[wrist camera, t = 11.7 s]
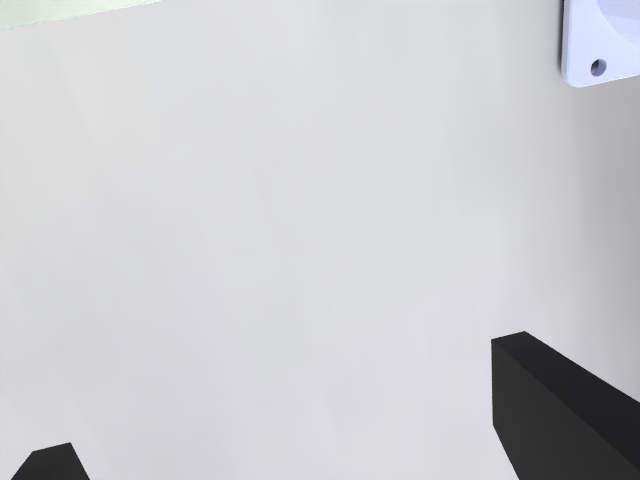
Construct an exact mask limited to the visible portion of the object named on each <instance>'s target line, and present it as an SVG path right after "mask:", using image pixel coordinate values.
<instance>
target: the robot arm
mask: <svg viewBox="0 0 640 480" xmlns="http://www.w3.org/2000/svg"><path fill="white" fill-rule="evenodd" d="M597 59H598V61H599V65H598V68H597V70H596V71H595V72H594V73H592V74H591V71H590V69H591V65H592V64H593V62H594V61H595V60H597ZM561 74H562V79H563V80H564V82H565V83H567V84H569V85H571V86H574V87H584V86H589V85H593V84H598V83H603V82H608V81H612V80H617V79H622V78H627V77H631V76H636V75H640V0H564V20H563V43H562V65H561ZM491 349H492V407H493V426H494V428H495V430H496V433H497V435H498V437H499V439H500V441H501V443H502V445H503V448H504V450H505V452H506V454H507V456H508V458H509V460H510V462H511V464H512V466H513V468H514V470H515V472H516V474H517V476H518V478H519V480H640V402H638V401H636V400H635V399H633V398H631V397H630V396H628V395H626V394H625V393H623V392H621V391H620V390H618V389H616V388H615V387H613V386H611V385H610V384H608V383H607V382H605V381H603V380H602V379H600V378H598V377H597V376H595V375H594V374H592V373H590V372H589V371H587V370H586V369H584V368H582V367H581V366H579V365H578V364H576V363H575V362H573V361H571V360H570V359H568V358H567V357H565V356H564V355H562V354H560V353H559V352H557V351H556V350H554V349H553V348H551V347H549V346H548V345H546V344H545V343H543V342H542V341H540V340H538V339H537V338H535V337H534V336H532V335H530V334H529V333H527V332H525V331H523V332H519V333H515V334H511V335H507V336H503V337H499V338H495V339H491ZM11 480H90V479H89V477H88V475H87V473H86V471H85V470H84V468H83V466H82V464H81V462H80V460H79V458H78V456H77V454H76V452H75V450H74V448H73V446H72V444H71V443H70V442H69V443H65V444H61V445H57V446H53V447H49V448H45V449H41V450H37V451H33V452H32V453H31V454H30V455H29V457H28V458H27V459H26V461H25V462H24V463H23V464H22V466H21V467H20V468H19V470H18V471H17V472H16V474H15V475H14V476H13V478H12V479H11Z"/></svg>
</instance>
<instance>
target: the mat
mask: <svg viewBox="0 0 640 480" xmlns="http://www.w3.org/2000/svg"><path fill="white" fill-rule="evenodd" d="M158 1H163V0H0V31H2V30H7V29H12V28H18V27H23V26H29V25H34V24H39V23H45V22H50V21H56V20H61V19H66V18H72V17H77V16H83V15H88V14H93V13H99V12H104V11H109V10H115V9H120V8H126V7H131V6H136V5H142V4H147V3H153V2H158Z"/></svg>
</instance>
